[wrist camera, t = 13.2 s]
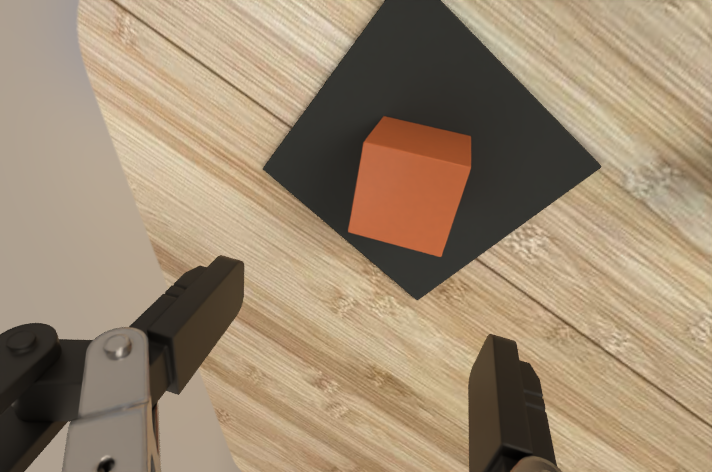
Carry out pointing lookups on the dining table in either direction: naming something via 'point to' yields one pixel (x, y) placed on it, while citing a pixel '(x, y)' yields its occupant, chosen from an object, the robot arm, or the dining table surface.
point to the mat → (438, 110)
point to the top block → (410, 184)
